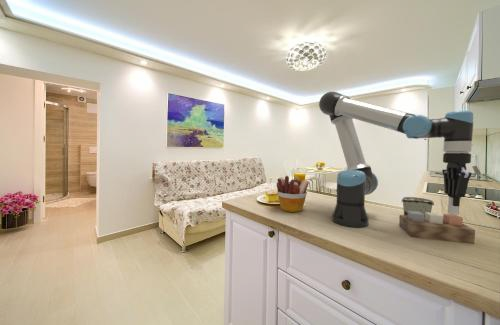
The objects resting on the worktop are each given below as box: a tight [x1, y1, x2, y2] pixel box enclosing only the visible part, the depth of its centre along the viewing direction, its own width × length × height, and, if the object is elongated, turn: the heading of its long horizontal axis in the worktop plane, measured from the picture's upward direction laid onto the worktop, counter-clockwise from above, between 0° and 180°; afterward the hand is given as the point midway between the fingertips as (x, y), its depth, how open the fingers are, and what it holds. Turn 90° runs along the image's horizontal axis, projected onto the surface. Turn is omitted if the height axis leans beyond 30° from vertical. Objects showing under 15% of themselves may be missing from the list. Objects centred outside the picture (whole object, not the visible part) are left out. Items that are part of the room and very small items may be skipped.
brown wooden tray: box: [398, 214, 476, 244], centre depth 82 cm, size 19×12×5 cm, turn 72°
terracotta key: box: [442, 213, 464, 226], centre depth 80 cm, size 4×4×4 cm
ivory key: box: [425, 212, 443, 224], centre depth 82 cm, size 4×4×4 cm
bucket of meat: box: [276, 175, 310, 213], centre depth 115 cm, size 20×16×20 cm
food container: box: [401, 196, 435, 217], centre depth 101 cm, size 12×6×10 cm, turn 65°
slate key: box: [408, 211, 424, 222], centre depth 84 cm, size 4×4×4 cm
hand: (453, 213), depth 80 cm, fingers closed
